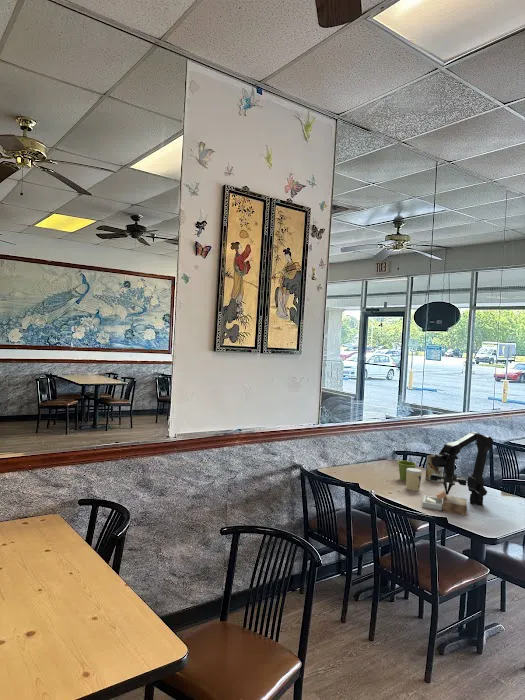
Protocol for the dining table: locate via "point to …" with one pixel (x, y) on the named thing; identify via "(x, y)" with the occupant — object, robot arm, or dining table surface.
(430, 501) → the cream tile
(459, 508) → the brown cream box
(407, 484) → the coffee cup
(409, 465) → the plant pot
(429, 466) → the coffee box
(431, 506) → the bin
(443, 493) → the terracotta tile
